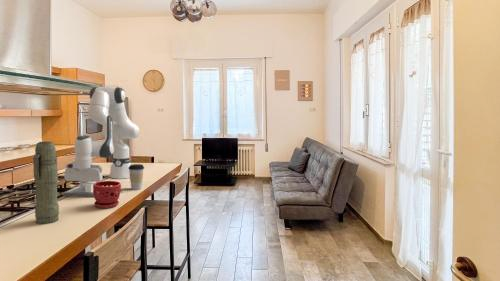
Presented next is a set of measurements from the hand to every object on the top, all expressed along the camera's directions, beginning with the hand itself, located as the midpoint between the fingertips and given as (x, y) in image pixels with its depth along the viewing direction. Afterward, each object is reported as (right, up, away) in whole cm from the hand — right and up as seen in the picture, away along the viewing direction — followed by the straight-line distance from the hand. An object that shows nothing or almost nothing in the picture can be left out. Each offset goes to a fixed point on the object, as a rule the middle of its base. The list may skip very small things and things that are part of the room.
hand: (83, 188), depth 190 cm
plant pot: (+21, -7, -18) cm, 28 cm away
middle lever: (+2, -1, +6) cm, 6 cm away
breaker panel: (-2, -4, +6) cm, 7 cm away
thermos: (+5, -8, -42) cm, 44 cm away
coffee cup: (+23, -3, +20) cm, 31 cm away
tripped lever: (+3, -2, 0) cm, 3 cm away
